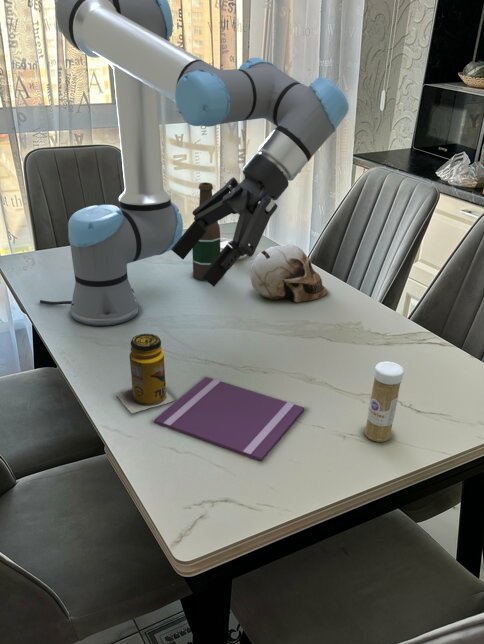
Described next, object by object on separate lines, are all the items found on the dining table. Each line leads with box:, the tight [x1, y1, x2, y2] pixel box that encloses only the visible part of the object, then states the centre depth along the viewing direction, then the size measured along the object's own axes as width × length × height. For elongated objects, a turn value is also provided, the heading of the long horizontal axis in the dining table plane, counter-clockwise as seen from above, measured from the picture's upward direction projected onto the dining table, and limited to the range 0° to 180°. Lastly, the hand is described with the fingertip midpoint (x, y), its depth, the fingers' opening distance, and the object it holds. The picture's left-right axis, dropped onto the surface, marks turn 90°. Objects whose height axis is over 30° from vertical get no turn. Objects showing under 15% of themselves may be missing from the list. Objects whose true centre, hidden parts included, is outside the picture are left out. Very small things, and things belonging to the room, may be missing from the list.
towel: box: [153, 376, 305, 462], centre depth 107 cm, size 21×17×1 cm
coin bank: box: [250, 243, 328, 303], centre depth 150 cm, size 16×17×13 cm
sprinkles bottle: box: [364, 360, 405, 443], centre depth 100 cm, size 5×5×13 cm
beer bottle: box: [192, 182, 221, 282], centre depth 155 cm, size 8×8×24 cm
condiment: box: [115, 333, 175, 414], centre depth 108 cm, size 7×8×12 cm
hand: (191, 267), depth 102 cm, fingers open, 13 cm apart
